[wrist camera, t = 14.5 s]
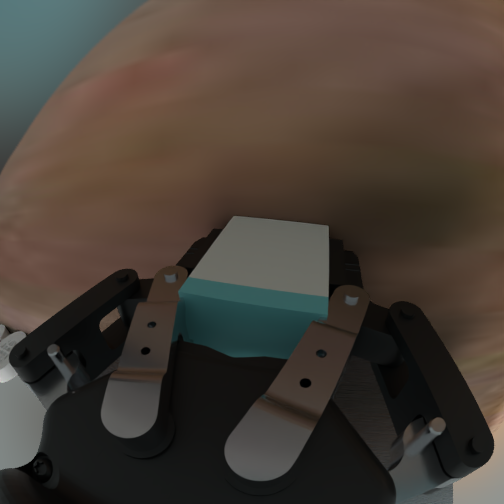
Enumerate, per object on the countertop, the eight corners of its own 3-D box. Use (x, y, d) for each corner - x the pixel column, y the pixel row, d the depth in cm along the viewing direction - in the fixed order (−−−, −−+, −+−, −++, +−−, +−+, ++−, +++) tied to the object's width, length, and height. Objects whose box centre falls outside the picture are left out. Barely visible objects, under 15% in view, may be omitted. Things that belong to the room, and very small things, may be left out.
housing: (171, 370, 22) (113, 480, 12) (147, 300, 18) (50, 435, 8) (388, 401, 18) (384, 532, 9) (428, 334, 14) (452, 515, 5)
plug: (243, 418, 24) (226, 470, 19) (233, 215, 13) (178, 291, 8) (288, 426, 23) (276, 480, 18) (328, 225, 13) (327, 314, 8)
